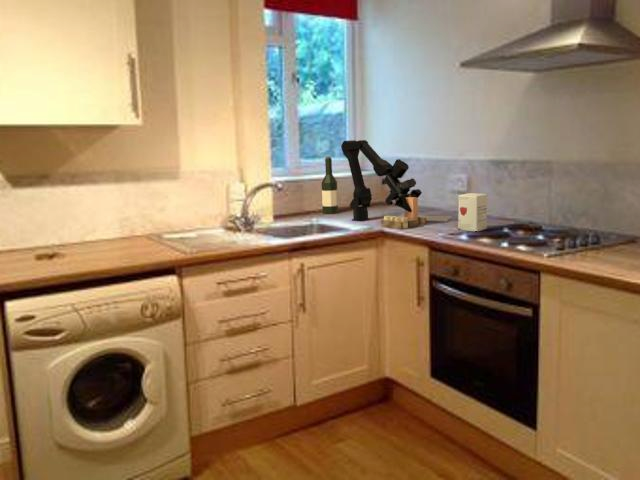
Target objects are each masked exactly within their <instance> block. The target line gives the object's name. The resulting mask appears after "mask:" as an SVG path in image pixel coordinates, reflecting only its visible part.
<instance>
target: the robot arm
mask: <svg viewBox="0 0 640 480" xmlns="http://www.w3.org/2000/svg"><path fill="white" fill-rule="evenodd" d="M340 147H341V151H342V154H343V156H344V157H345V158H346V159H347V161H348V165H349V168H350V173H351V178H352V182H353V187H354V190H353V193H352V197H353V198H352V200H351V202H350V203H349V207H350V209H352V212H353V213H352V214H353V215H352V217H353V218H351V221H356V220H357V221H356V222H362V221H363V222H365V221H369V220H370V218H369V210H368V207H370V206H371V202H372V197H373V194H372V192H371V191H372V190H371V188H370V187H367V186H366V185H365V182H364V177H363V173H362V172H363V171H362V169H361V164H360V161H359V154H360V152H361V153H362V154H363V155H364V157H365V158H366V159H367V160H368V161H369V163H370V164H371V165H372V169H373V171H374V172H375V174H376V176H378V177H384V178H382V181H381V185H386V186H387V187H388V188H389V194H388V196H387V197H386V198H385V204H386V205H387V206H392V205H393V204H394V206H397V207H398V208H401V209H404V211H405V210H407V211H409V212H411V211H412V210H411V208H410V206H409V205H408V203H407V201H406V197H416V198H418V199H419V197H420V196H421V195H422V194H423V192H422V190H420V188H417V189H411V188H414V187H416V185H417V181H416V180H415V179H414V178H410V179H406V180H404V181H402V182H401V180H400V179H402V178H403V177H404V175H405V174H406V173H407V172H408V170H409V164H408V163H406V162H405V161H403V160H401V159H396V160H395V162H394V163H393V165H392V164H391V163H390V162H389V161H387V160H385V159H384V158H382V157H381V156H380V155H379V154H378V153H377V152H376V151H375V150H374V149H373V148H372V146H371V145H370V144H369V142H368V141H367V140H365V139H358V140H355V139H354V140H343V142H341V145H340ZM393 201H395V203H393Z"/></svg>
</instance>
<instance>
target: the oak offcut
mask: <svg viewBox="0 0 640 480" xmlns="http://www.w3.org/2000/svg"><path fill="white" fill-rule="evenodd" d="M395 221H396V222H403V229H402V230H407V229H409V228H408V218H406V217H405V216H397V217H395ZM406 228H407V229H406Z"/></svg>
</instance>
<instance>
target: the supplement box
mask: <svg viewBox="0 0 640 480" xmlns="http://www.w3.org/2000/svg"><path fill="white" fill-rule="evenodd" d="M457 218H458V220H457V221H458V225H457V227H458V230H459V231H468V232H475V231H477V232H480V231H483V230H486V229H488V225H487V224H488V193H473V192H472V193H471V192H469V193H464V194H459V195H458V217H457Z"/></svg>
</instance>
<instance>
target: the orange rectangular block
mask: <svg viewBox="0 0 640 480" xmlns="http://www.w3.org/2000/svg"><path fill="white" fill-rule="evenodd" d="M406 201H407V203H408V205H409V206H410V208H411V210H412V211H411V212H409V211H407V210H405V209H404V217H406V218H411V219H418V216H419V212H418V211H419V207H418V206H419V202H418V201H419V197H418V198H416V197H406Z"/></svg>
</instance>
